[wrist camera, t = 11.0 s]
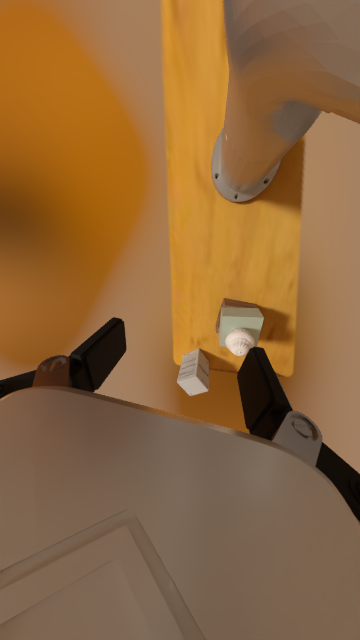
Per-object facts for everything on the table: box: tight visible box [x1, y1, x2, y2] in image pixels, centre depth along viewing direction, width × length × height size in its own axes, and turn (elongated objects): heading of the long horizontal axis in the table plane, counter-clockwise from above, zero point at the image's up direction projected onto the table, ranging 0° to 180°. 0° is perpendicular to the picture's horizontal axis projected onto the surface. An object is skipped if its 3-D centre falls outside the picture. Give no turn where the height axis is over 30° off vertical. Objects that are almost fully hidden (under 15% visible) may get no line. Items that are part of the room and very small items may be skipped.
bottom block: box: [216, 298, 258, 333], centre depth 43 cm, size 9×9×5 cm
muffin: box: [225, 328, 255, 356], centre depth 33 cm, size 6×6×7 cm
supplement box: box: [177, 349, 209, 396], centre depth 51 cm, size 7×7×13 cm
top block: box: [219, 307, 264, 347], centre depth 38 cm, size 9×9×5 cm
